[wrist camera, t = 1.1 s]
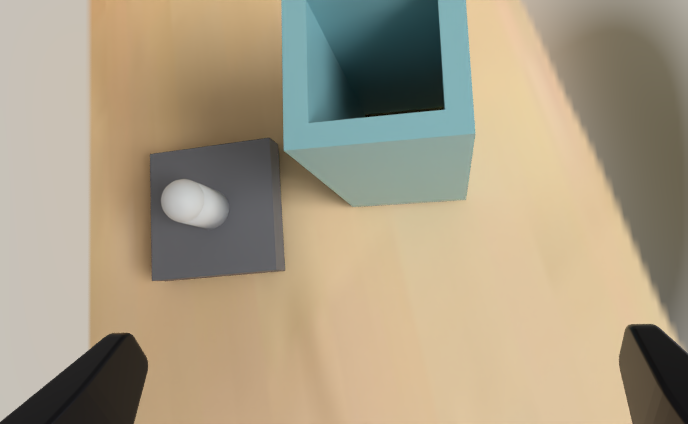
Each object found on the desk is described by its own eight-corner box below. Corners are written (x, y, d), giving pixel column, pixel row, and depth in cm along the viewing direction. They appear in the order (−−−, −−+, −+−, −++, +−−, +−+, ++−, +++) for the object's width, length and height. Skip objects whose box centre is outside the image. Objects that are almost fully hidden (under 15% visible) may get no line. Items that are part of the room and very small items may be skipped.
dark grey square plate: (285, 270, 24) (247, 266, 20) (165, 281, 25) (105, 279, 21) (278, 144, 25) (240, 114, 20) (163, 160, 26) (105, 134, 22)
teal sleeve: (465, 199, 23) (475, 133, 13) (353, 206, 24) (283, 150, 14) (458, 90, 23) (462, -50, 14) (349, 102, 24) (281, -22, 15)
